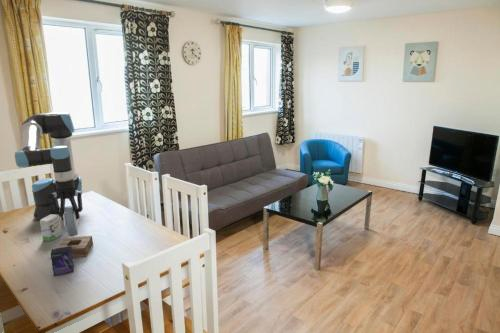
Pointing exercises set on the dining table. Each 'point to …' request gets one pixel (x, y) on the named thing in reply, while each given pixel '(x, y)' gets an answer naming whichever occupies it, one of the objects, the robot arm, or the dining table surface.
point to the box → (62, 260)
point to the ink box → (50, 227)
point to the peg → (70, 221)
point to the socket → (78, 245)
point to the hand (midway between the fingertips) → (71, 225)
